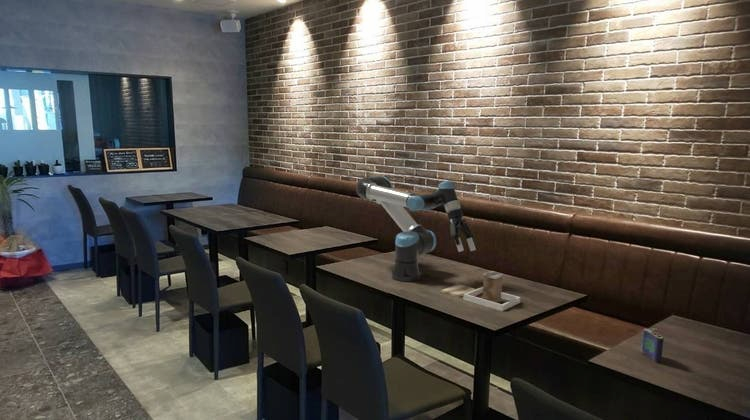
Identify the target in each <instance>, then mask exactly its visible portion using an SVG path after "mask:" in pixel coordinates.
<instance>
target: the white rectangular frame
mask: <svg viewBox="0 0 750 420" xmlns="http://www.w3.org/2000/svg"><path fill="white" fill-rule="evenodd" d="M475 289H476V290H473V291H471V292H468V293H465V294H464V295H463V296H462V299H463V301H464V300H465V301H468V302H470V303H474V304H478V305H480V306H484V307H487V308H490V309H494V310H497V311H501V312H504V311H505V310H507V309H510V308H512V307H514V306H516V305H518V304H520V303H521V297H520V296H517V295H513V294H509V293H507V292H502V291H501V299H503V300H507V302H504V303H502V304H501V303H500V302H498V303H495V302H492V301H488V300H485V299H483V298H482V297H481V298H480V297H477V296H478V294H479V295H481V294H483V286H480V287H478V288H475Z"/></svg>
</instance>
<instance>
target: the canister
mask: <svg viewBox="0 0 750 420" xmlns="http://www.w3.org/2000/svg"><path fill="white" fill-rule="evenodd" d="M503 277H504V273H501V272H497V271H494V270H489V271H485V272H484V273H483V283H482V284H483V286H482V287H483V293H482V299H485V300H488V301H492V302H495V303H500V302H501V301H502V298H501V292H502V290H503Z"/></svg>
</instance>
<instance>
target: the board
mask: <svg viewBox="0 0 750 420" xmlns="http://www.w3.org/2000/svg"><path fill="white" fill-rule="evenodd" d="M476 289H477V288H473V287H470V286H466V285H462V284H459V283H457V284H455V285H451V286H449V287H447V288H444V289H441V290H440V291H441V293H444V294H447V295H450V296H453V297H456V298H460V297H461V298H462V297H463V295H464V294H465V293H468V292H471V291H473V290H476Z"/></svg>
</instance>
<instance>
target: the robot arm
mask: <svg viewBox="0 0 750 420" xmlns="http://www.w3.org/2000/svg"><path fill="white" fill-rule="evenodd" d="M355 191H356V194H357V195H358V197H360V198H361V199H365V200H369V201H373V200H374V201H375V203H376V204H378V205H381V206H382V207H383V209H385V211H386V212H387V214H388V215H389V216H390V217H391V218H392V220H393V221H394V222H395V223H396V225H397V226H398V228H400V229H401V231H402V232H399V233H397V234H396V236H395V240H394V241H395V243H394V244H395V248H394V249H395V250H394V251H395V253H394V264H393V266H392V270H391V272H390V277H391V279H393V280H394V281H395V280H396V281H400V282H416V281H418V280H420V279H421V273H420V270H419V265H418V258H419V257H418V256H420V255H424V254H428V253H430V252H432V251H433V250H434V249H435V248H436V246H437V238H436V235H435V233H434V232H433V231H431V230H429V229H425V227H424V226H423V225H422V224H418V223H417V222H416V221H415V219H414V218H413V217H412V216H411V214H410V213H409V212H408V210H407V209H405V208H408V209H409V211H412V212H420V211H423V210H426V211H431V210H434V209H435V208H437V207H439V206H441V205H443V206H444V209H445V212H446V213H447V218H448V223H449V228H450V238H451V239H452V241H453V240H454V242H455V245H456V248H457V251H458V253H460V252H463V251H465V249H464V246H463V244H462V240H461V237H459V236H460V231H461V232H462V233H463V235H464V236H465V237H466V242H467V244H468V248H469V250H470V252H473V251H476V250H477V249H476V246H475V243H474V239H473V238H474V234H473V232H472V231H471V229H470V227H469V225H468V223H467V221H466V219H462V218H463V216H464V213H463V210H462V208H461V205H460V203H461V202H460V201H459V199H458V195H457V193H456V190H455V187H454V184H453V181H450V180H445V181H442V182H440V183H439V184H438V185H437V190H435V191H433V192H432V193H425V194H416V193H412V192H409V191H402V190H399V189H395V188H393V186H392V182H391V180H389V178H387V177H385V176H374V177H373V176H372V177H370V176H369V177H363V178H361V179H360V180H358V182H357V183H356V186H355Z"/></svg>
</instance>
